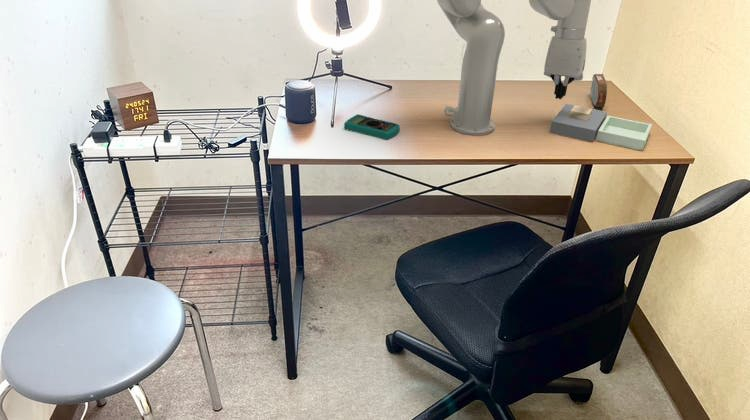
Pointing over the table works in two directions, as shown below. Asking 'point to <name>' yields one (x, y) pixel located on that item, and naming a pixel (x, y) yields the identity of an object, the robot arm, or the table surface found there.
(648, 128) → the box
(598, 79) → the tin
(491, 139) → the table surface
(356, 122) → the digital multimeter
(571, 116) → the block
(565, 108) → the plate
